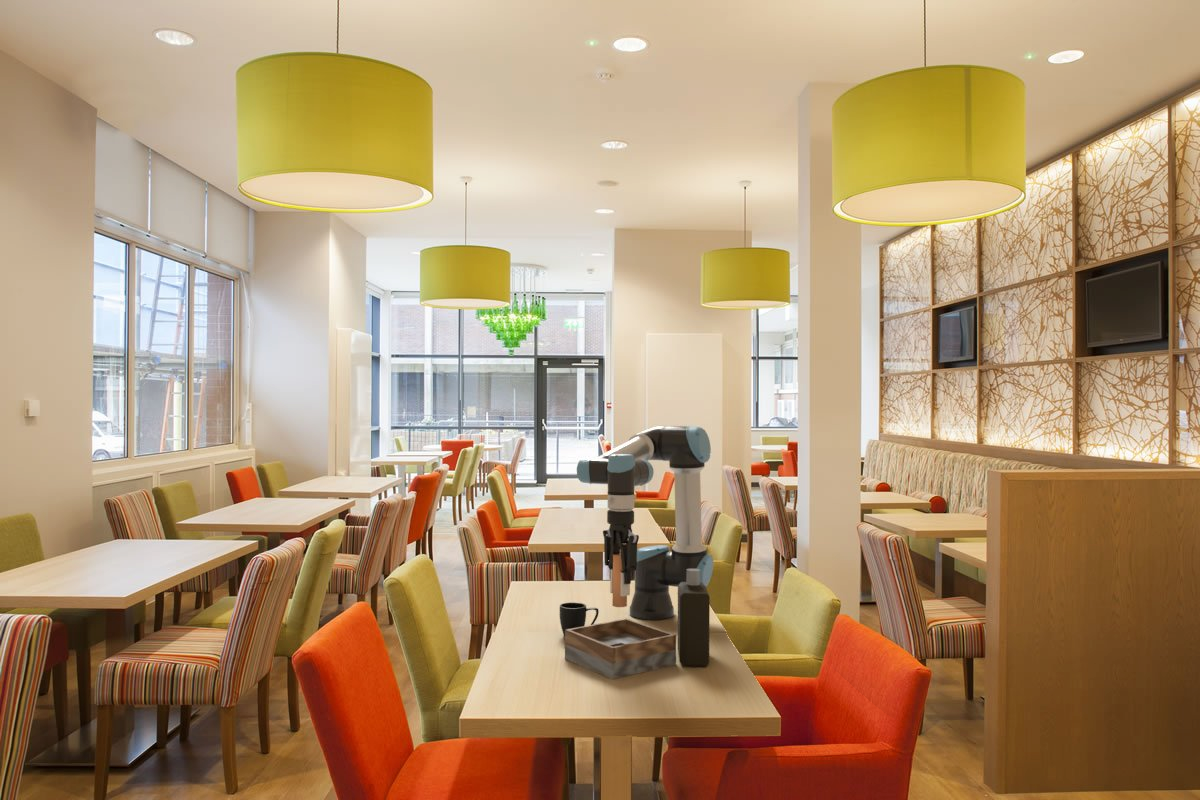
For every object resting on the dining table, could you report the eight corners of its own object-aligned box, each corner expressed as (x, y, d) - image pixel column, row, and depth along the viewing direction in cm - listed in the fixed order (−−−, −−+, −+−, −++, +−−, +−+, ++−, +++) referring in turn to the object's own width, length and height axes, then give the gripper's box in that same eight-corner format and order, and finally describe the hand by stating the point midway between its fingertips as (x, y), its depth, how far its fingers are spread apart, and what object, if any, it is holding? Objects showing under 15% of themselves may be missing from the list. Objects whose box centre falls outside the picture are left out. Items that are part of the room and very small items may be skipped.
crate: (626, 645, 244) (626, 618, 244) (675, 664, 226) (676, 634, 226) (564, 658, 231) (565, 629, 231) (612, 679, 213) (612, 648, 213)
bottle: (680, 667, 224) (680, 575, 224) (677, 650, 240) (677, 564, 240) (709, 668, 223) (710, 575, 223) (704, 650, 239) (705, 564, 239)
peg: (620, 603, 231) (621, 553, 232) (629, 606, 228) (630, 555, 228) (609, 605, 229) (610, 554, 229) (618, 607, 226) (618, 556, 226)
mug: (596, 641, 249) (596, 609, 249) (557, 639, 250) (557, 607, 250) (599, 633, 257) (600, 603, 257) (561, 632, 258) (562, 601, 258)
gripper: (591, 507, 234) (591, 590, 233) (629, 513, 220) (628, 601, 220) (612, 506, 238) (612, 587, 238) (650, 511, 225) (650, 597, 224)
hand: (619, 593), depth 229 cm, fingers closed on peg, 4 cm apart
